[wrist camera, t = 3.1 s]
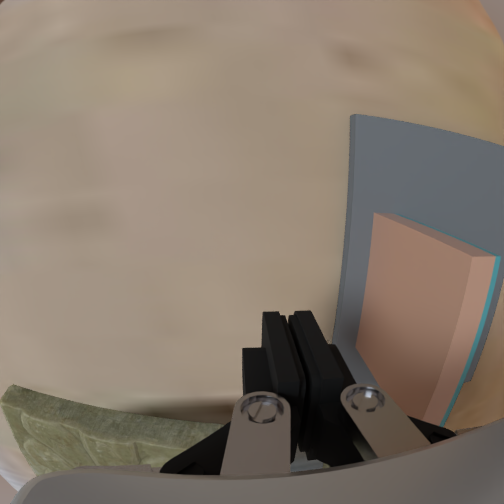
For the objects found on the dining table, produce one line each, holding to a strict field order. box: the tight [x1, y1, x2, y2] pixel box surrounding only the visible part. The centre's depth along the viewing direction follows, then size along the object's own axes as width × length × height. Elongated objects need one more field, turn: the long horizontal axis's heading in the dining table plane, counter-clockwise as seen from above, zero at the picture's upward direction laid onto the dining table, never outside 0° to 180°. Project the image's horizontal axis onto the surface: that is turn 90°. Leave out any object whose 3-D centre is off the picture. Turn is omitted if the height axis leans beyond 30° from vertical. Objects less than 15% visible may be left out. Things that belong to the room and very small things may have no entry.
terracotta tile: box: [355, 213, 501, 427], centre depth 13 cm, size 8×2×8 cm, turn 179°
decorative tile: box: [0, 384, 224, 476], centre depth 21 cm, size 19×20×4 cm
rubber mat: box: [332, 114, 504, 387], centre depth 18 cm, size 18×13×1 cm
